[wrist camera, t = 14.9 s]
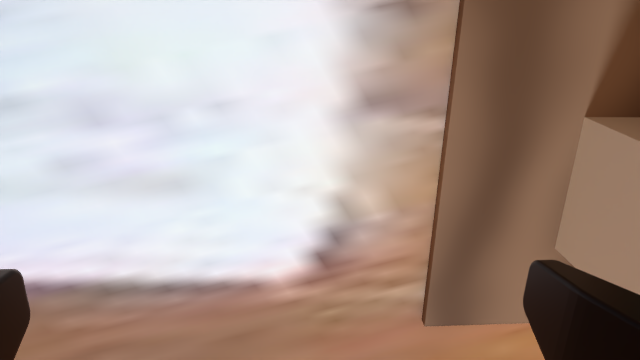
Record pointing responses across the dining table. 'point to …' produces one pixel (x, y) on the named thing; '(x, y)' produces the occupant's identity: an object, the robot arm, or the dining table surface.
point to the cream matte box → (605, 202)
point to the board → (519, 142)
